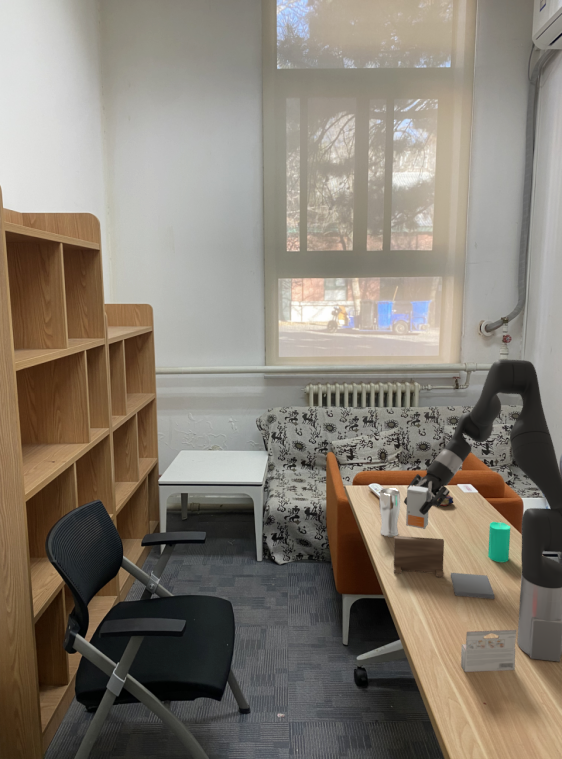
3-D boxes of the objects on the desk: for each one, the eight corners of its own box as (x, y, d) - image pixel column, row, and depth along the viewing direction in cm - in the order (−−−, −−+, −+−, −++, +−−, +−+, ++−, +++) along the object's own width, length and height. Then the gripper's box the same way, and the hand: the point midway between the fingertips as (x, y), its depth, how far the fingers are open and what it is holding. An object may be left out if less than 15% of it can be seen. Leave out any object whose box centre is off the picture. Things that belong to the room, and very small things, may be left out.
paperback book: (436, 489, 221) (436, 478, 220) (456, 508, 201) (457, 495, 201) (411, 491, 219) (411, 479, 219) (429, 509, 200) (429, 497, 199)
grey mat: (494, 598, 140) (494, 594, 140) (455, 595, 142) (455, 591, 142) (486, 579, 150) (487, 575, 150) (450, 576, 152) (450, 572, 151)
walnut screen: (443, 577, 151) (444, 545, 149) (394, 573, 154) (394, 541, 152) (441, 567, 157) (442, 535, 155) (393, 563, 159) (394, 532, 158)
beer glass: (384, 538, 176) (385, 496, 173) (375, 530, 182) (376, 489, 180) (403, 536, 178) (404, 494, 175) (393, 527, 184) (394, 487, 182)
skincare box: (405, 526, 163) (406, 489, 161) (409, 521, 167) (409, 484, 165) (425, 529, 160) (426, 492, 158) (428, 524, 164) (429, 487, 162)
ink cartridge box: (460, 665, 115) (461, 624, 114) (509, 663, 116) (512, 622, 114) (464, 673, 113) (466, 631, 111) (515, 671, 113) (517, 629, 112)
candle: (510, 563, 159) (512, 525, 157) (489, 561, 160) (491, 524, 158) (506, 553, 165) (508, 517, 163) (486, 552, 166) (488, 516, 164)
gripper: (423, 454, 170) (392, 494, 167) (454, 466, 157) (421, 510, 154) (436, 467, 173) (406, 507, 170) (467, 480, 160) (435, 524, 157)
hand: (413, 508), depth 162 cm, fingers closed on skincare box, 7 cm apart
